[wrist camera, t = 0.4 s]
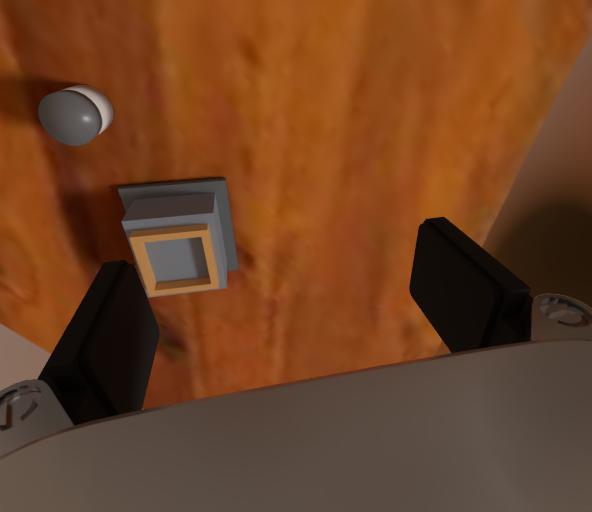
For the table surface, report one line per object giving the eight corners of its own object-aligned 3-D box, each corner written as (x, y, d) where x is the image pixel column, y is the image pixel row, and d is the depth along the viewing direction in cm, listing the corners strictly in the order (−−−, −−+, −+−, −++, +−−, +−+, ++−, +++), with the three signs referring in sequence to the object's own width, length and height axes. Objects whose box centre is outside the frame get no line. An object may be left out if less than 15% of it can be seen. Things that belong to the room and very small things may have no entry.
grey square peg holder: (119, 186, 42) (97, 216, 35) (225, 177, 44) (224, 205, 37) (149, 276, 50) (136, 315, 43) (238, 266, 51) (239, 302, 44)
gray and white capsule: (56, 85, 35) (28, 93, 30) (105, 83, 36) (85, 91, 31) (74, 132, 38) (51, 147, 33) (119, 130, 39) (102, 144, 34)
